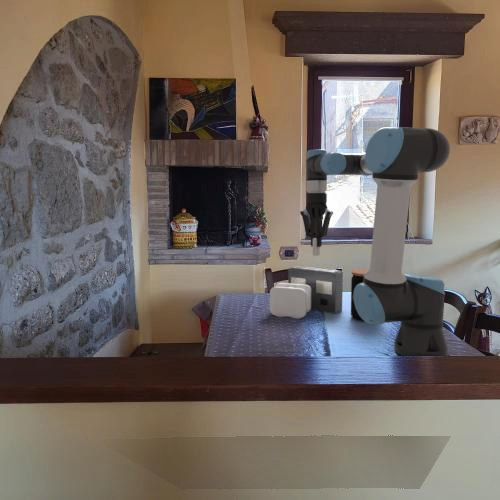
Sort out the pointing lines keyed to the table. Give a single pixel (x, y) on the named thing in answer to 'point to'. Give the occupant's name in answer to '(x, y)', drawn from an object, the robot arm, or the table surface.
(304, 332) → the table surface
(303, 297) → the cable organizer
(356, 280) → the coffee jar
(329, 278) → the box
